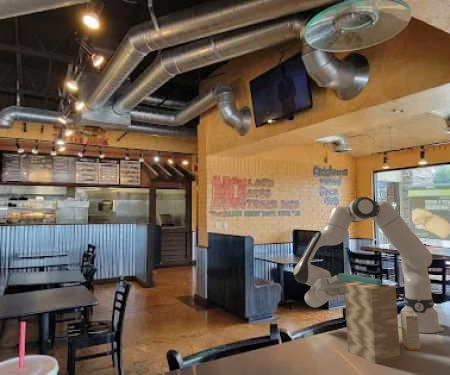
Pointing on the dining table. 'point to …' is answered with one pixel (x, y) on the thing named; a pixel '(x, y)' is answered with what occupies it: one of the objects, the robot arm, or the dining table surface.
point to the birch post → (372, 321)
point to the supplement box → (410, 330)
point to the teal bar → (359, 279)
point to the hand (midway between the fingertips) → (346, 276)
